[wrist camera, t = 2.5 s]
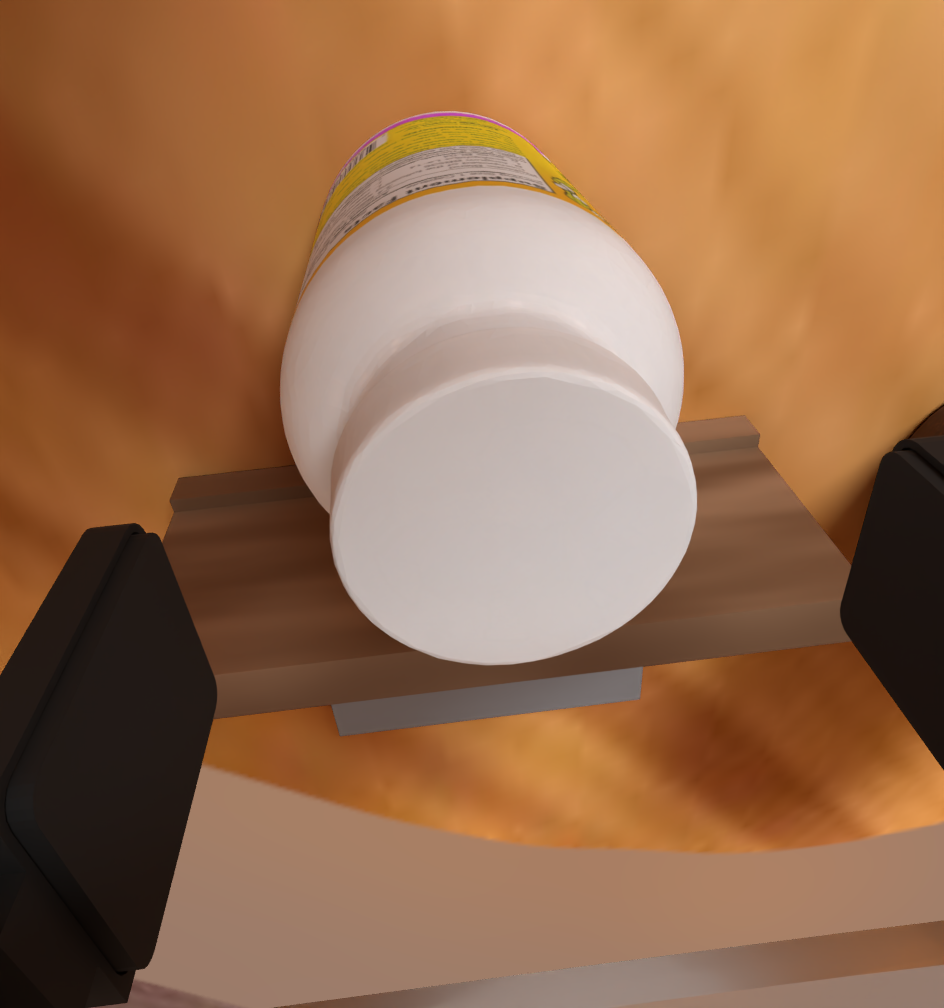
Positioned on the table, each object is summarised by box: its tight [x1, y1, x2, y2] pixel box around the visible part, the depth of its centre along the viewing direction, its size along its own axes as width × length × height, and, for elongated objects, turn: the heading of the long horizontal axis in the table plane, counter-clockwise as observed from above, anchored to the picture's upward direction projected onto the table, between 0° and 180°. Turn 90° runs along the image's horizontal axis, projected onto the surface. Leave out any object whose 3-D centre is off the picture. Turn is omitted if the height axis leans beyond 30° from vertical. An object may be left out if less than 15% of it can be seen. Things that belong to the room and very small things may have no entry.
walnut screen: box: [162, 416, 851, 719], centre depth 21 cm, size 2×18×8 cm, turn 94°
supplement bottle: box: [280, 111, 697, 665], centre depth 14 cm, size 7×7×13 cm
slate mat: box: [331, 667, 643, 736], centre depth 27 cm, size 9×12×1 cm
